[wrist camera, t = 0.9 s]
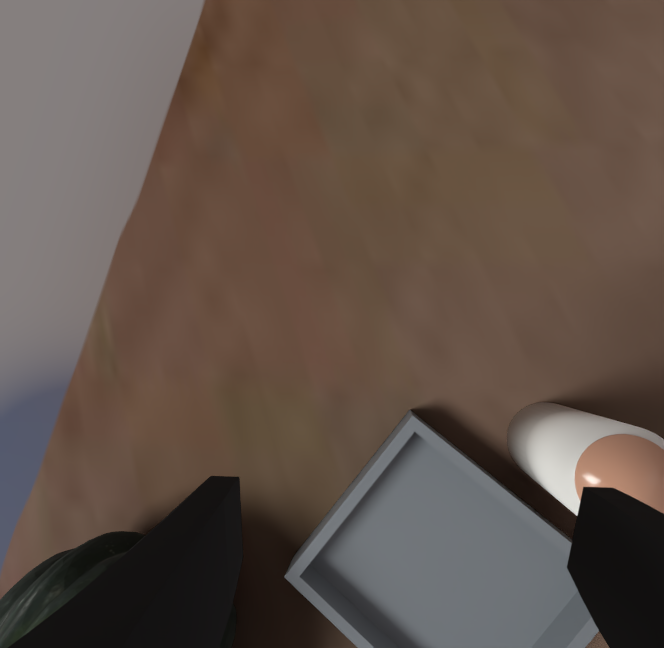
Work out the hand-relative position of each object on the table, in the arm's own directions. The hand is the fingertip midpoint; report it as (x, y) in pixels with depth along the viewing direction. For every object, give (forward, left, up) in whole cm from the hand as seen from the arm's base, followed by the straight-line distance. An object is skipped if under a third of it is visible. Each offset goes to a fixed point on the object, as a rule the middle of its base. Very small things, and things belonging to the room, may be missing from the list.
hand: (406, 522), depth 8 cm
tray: (-9, +6, -18) cm, 21 cm away
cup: (-9, -5, -18) cm, 21 cm away
